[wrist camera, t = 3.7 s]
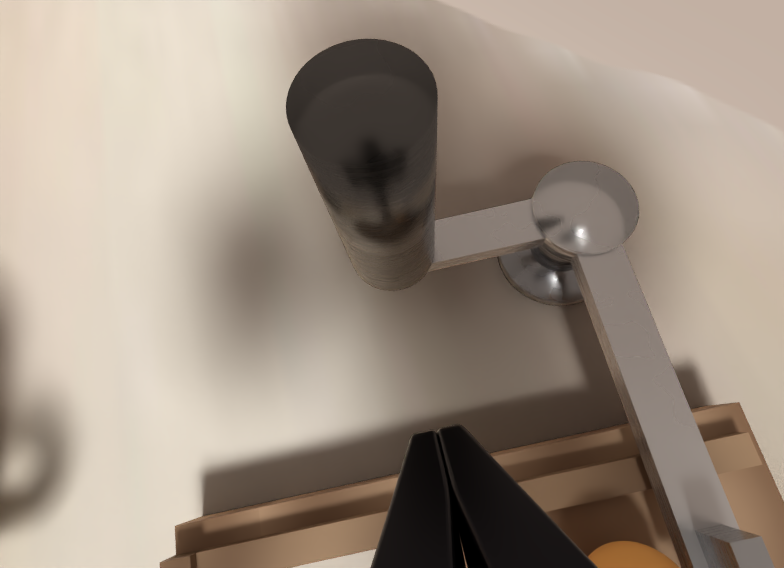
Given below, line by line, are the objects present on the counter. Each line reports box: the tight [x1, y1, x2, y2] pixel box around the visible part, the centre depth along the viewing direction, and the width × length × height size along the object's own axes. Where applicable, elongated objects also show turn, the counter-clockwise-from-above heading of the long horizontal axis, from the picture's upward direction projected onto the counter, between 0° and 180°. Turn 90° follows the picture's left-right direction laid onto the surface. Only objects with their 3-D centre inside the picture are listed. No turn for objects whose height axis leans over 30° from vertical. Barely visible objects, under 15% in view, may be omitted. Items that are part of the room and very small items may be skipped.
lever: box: [286, 39, 775, 568], centre depth 11 cm, size 10×15×9 cm
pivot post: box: [498, 198, 584, 306], centre depth 19 cm, size 5×5×3 cm
